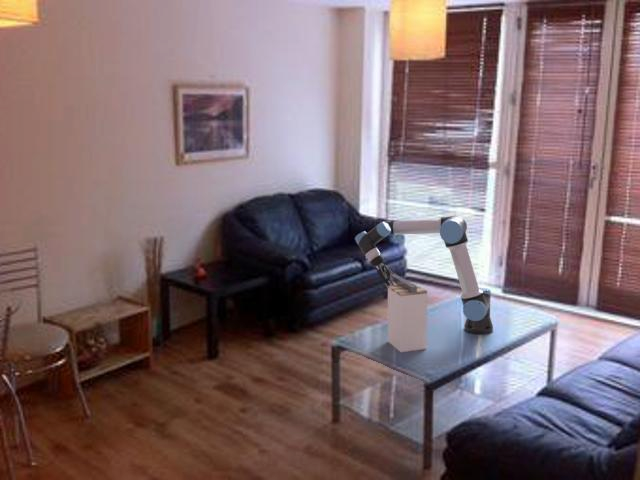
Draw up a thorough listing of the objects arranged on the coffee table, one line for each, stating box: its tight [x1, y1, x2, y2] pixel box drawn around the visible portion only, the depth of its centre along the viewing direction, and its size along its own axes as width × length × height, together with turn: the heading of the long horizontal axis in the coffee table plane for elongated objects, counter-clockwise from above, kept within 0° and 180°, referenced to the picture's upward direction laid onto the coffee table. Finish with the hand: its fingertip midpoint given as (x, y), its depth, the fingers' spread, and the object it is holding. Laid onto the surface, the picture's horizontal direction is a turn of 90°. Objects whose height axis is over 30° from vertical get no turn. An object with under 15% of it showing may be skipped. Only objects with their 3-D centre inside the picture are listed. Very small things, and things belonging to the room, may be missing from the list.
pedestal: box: [387, 282, 428, 353], centre depth 323 cm, size 16×14×30 cm
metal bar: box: [389, 273, 418, 293], centre depth 324 cm, size 26×3×3 cm, turn 17°
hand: (397, 290), depth 340 cm, fingers open, 13 cm apart
